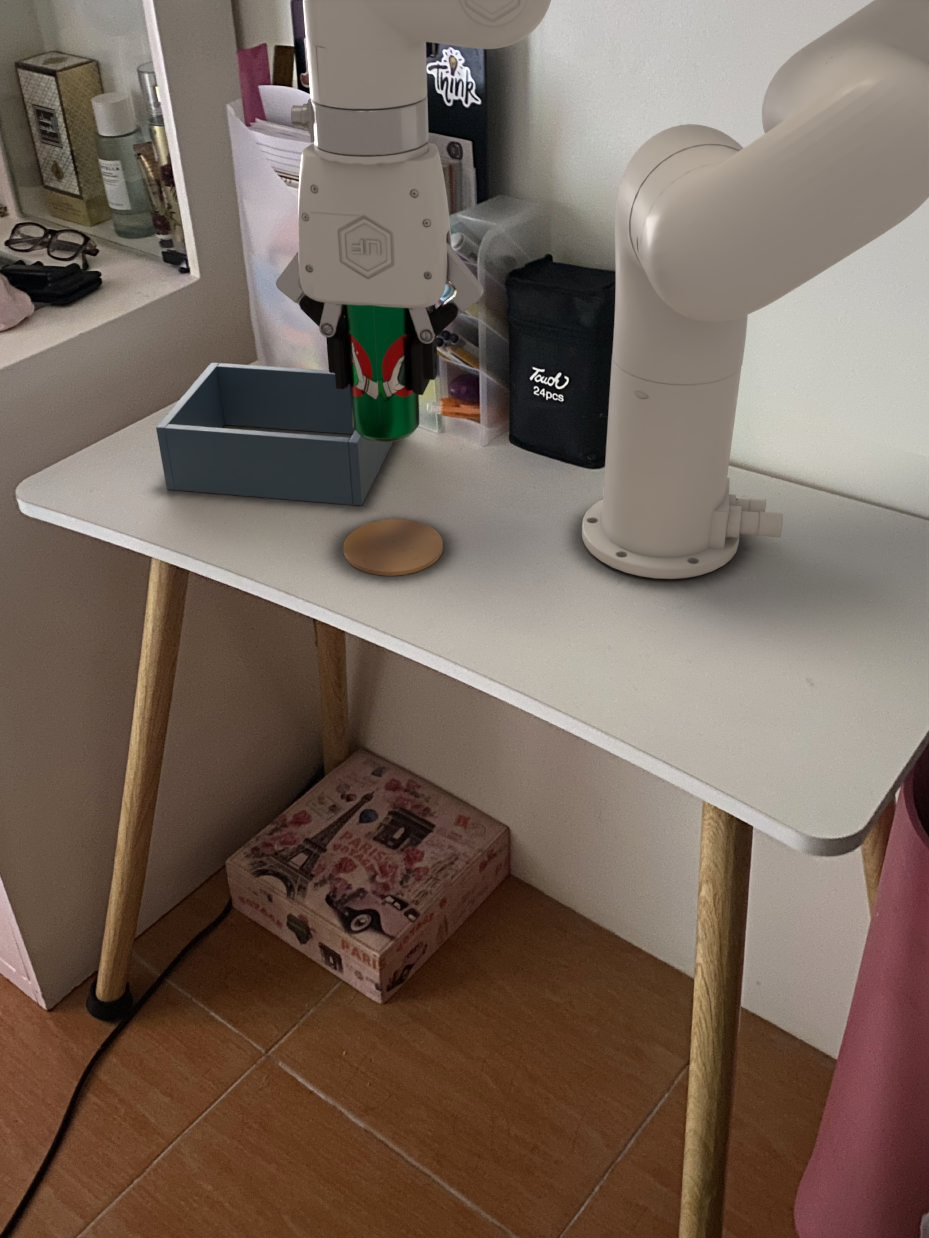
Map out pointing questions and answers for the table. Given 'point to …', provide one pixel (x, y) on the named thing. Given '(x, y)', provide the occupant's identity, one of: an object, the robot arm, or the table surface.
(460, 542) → the table surface
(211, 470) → the frame
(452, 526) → the table surface
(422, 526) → the coaster
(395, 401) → the soda can
